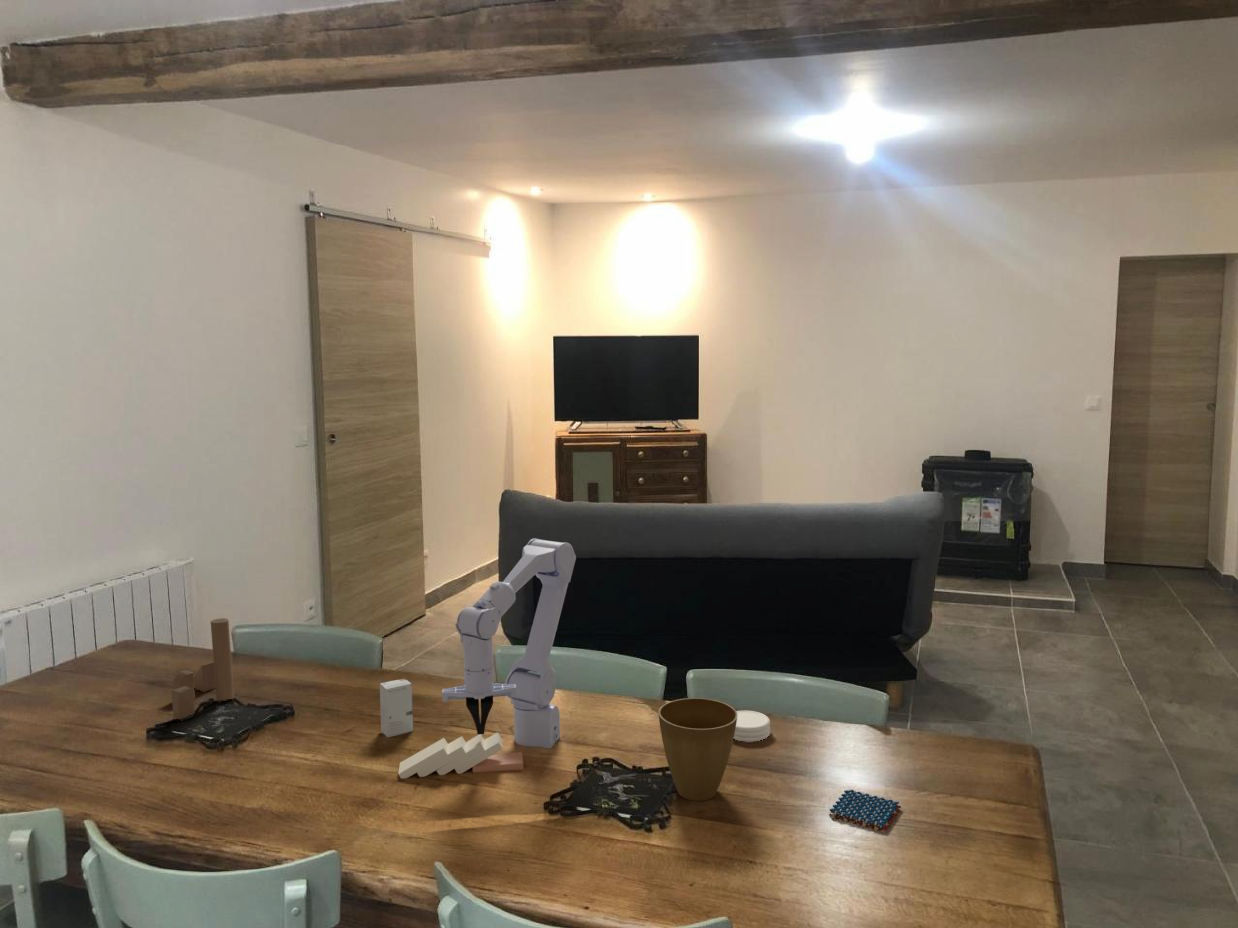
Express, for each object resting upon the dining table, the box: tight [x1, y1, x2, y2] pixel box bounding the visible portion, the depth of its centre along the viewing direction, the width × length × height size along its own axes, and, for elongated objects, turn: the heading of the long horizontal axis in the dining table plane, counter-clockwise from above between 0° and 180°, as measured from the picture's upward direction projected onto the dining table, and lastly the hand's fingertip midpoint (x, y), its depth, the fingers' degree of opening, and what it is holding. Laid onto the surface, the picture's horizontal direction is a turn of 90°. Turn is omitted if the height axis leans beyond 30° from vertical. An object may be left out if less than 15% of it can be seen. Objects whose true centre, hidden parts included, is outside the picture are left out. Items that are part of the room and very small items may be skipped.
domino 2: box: [416, 735, 467, 778], centre depth 186 cm, size 2×5×10 cm
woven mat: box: [828, 789, 902, 833], centre depth 169 cm, size 10×11×2 cm
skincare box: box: [379, 678, 414, 738], centre depth 204 cm, size 6×4×12 cm
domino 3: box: [435, 734, 485, 776], centre depth 186 cm, size 2×5×10 cm
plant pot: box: [657, 697, 737, 802], centre depth 177 cm, size 15×15×16 cm
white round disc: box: [734, 709, 771, 743], centre depth 204 cm, size 10×10×4 cm
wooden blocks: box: [171, 617, 235, 720], centre depth 225 cm, size 17×20×20 cm
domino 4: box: [454, 732, 503, 775], centre depth 187 cm, size 2×5×10 cm
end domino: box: [472, 751, 524, 774], centre depth 188 cm, size 2×5×10 cm
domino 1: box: [398, 737, 449, 779], centre depth 185 cm, size 2×5×10 cm
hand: (480, 732), depth 186 cm, fingers closed
